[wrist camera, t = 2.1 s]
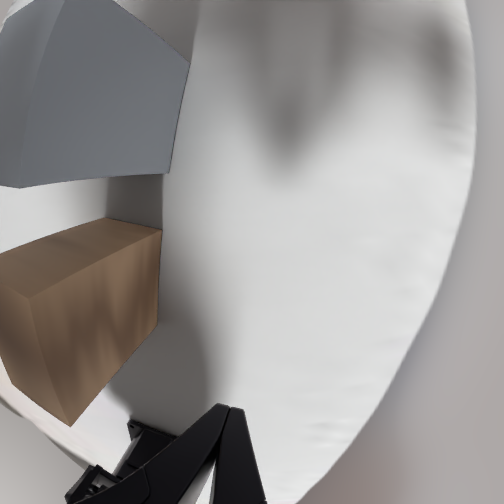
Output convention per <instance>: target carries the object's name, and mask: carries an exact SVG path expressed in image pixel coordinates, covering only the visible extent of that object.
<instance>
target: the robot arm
mask: <svg viewBox="0 0 504 504" xmlns="http://www.w3.org/2000/svg"><path fill="white" fill-rule="evenodd" d="M127 426H128V430H129V434H130V438H131V444H130V445H129V447H128V449H127V450H126V452H125V453H124V455H123V457H122V458H121V460H120V462H119V463H118V465H117V467H116V468H115V470H114V472H113V473H112V474H110V473H109V472H107V471H106V470H104V469H103V468H102V467H101V466H99V465H98V464H97V465H96V467H94V466H91V465H89V466H88V468H87V469H86V471H85V472H84V474H83V475H82V476H81V478H80V479H79V480H78V481H77V482H76V484H74V486H73V487H72V488H71V489H70V490H69V491H68V492H67V493H66V495H65V500H66V502H67V504H195V503H196V501H197V499H198V497H199V495H200V493H201V491H202V489H203V487H204V485H205V483H206V481H207V479H208V477H209V475H210V473H211V471H212V469H213V466H214V464H215V467H214V473H213V480H212V487H211V494H210V501H209V504H267V501H265V499H266V497H265V494H264V490H263V486H262V482H261V479H260V475H259V471H258V467H257V463H256V459H255V455H254V451H253V447H252V443H251V438H250V434H249V430H248V426H247V421H246V417H245V412H244V410H243V409H240V408H236V407H231V408H230V407H229V406H228V405H224V404H220V403H217V404H215V405H214V406H213V407H212V408H211V409H210V410H209V411H208V412H207V413H205V414H204V415H203V416H202V417H201V418H200V419H199V420H198V421H196V422H195V423H194V424H193V425H192V426H191V427H190V428H188V429H187V430H186V431H185V432H184V433H183V434H181V435H180V436H179V437H178V438H176V437H173V436H171V435H168V434H165V433H162V432H160V431H157V430H154V429H152V428H149V427H147V426H144V425H142V424H140V423H137V422H135V421H133V420H129V421H128V423H127ZM215 461H216V462H215ZM97 484H99V485H101V487H100V488H99V487H97V486H96V485H97Z"/></svg>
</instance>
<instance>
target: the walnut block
mask: <svg viewBox="0 0 504 504" xmlns="http://www.w3.org/2000/svg"><path fill="white" fill-rule="evenodd" d="M161 236H162V230H160V229H156V228H151V227H146V226H142V225H137V224H132V223H128V222H123V221H118V220H114V219H109V218H101V219H98V220H94V221H91V222H88V223H85V224H82V225H78V226H75V227H72V228H69V229H66V230H63V231H60V232H57V233H54V234H51V235H49V236H46V237H43V238H40V239H37V240H35V241H32V242H29V243H26V244H24V245H21V246H19V247H16V248H13V249H11V250H8V251H6V252H3V253H1V254H0V357H1V359H2V362H3V364H4V367H5V369H6V371H7V374H8V376H9V378H10V380H11V383H12V384H13V385H14V386H15V387H16V388H17V389H19V390H20V391H21V392H22V393H24V394H25V395H26V396H27V397H28V398H30V399H31V400H32V401H34V402H35V403H36V404H38V405H39V406H40V407H42V408H43V409H44V410H46V411H47V412H48V413H50V414H51V415H53V416H54V417H56V418H57V419H59V420H60V421H62V422H63V423H65V424H66V425H68V426H69V427H71V426H72V425H73V424H74V423H75V421H76V420H77V419H78V418H79V417H80V415H81V414H82V413H83V412H84V411H85V409H86V408H87V407H88V406H89V404H90V403H91V402H92V401H93V400H94V398H95V397H96V396H97V395H98V394H99V392H100V391H101V390H102V389H103V388H104V387H105V385H106V384H107V383H108V382H109V381H110V379H111V378H112V377H113V376H114V375H115V374H116V372H117V371H118V370H119V369H120V368H121V366H122V365H123V364H124V363H125V362H126V361H127V359H128V358H129V357H130V356H131V355H132V354H133V352H134V351H135V350H136V349H137V348H138V347H139V346H140V344H141V343H142V342H143V341H144V340H145V339H146V337H147V336H148V335H149V334H150V333H151V332H152V331H153V329H154V328H155V327H156V326H157V308H158V281H159V263H160V249H161Z"/></svg>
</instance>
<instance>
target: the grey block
mask: <svg viewBox="0 0 504 504" xmlns="http://www.w3.org/2000/svg"><path fill="white" fill-rule="evenodd" d="M189 66H190V63H189V62H188V61H187V60H186V59H185V58H184V57H182V56H181V55H180V54H179V53H178V52H177V51H176V50H175V49H173V48H172V47H171V46H170V45H169V44H168V43H166V42H165V41H164V40H163V39H162V38H160V37H159V36H158V35H157V34H156V33H154V32H153V31H152V30H151V29H150V28H148V27H147V26H146V25H145V24H143V23H142V22H141V21H140V20H138V19H137V18H136V17H134V16H133V15H132V14H130V13H129V12H128V11H127V10H125V9H124V8H122V7H121V6H120V5H118V4H117V3H116V2H114V1H113V0H34V1H33V2H31V3H29V4H28V5H26V6H25V7H23V8H22V9H20V10H19V11H17V12H16V13H14V14H13V15H12V16H10V17H9V18H7V20H6V22H5V24H4V26H3V29H2V31H1V33H0V186H7V187H13V188H26V187H32V186H38V185H45V184H51V183H59V182H66V181H74V180H83V179H92V178H103V177H114V176H127V175H142V174H161V173H169V168H170V161H171V155H172V148H173V143H174V137H175V131H176V126H177V120H178V115H179V110H180V105H181V101H182V96H183V91H184V87H185V83H186V78H187V74H188V70H189Z"/></svg>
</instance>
